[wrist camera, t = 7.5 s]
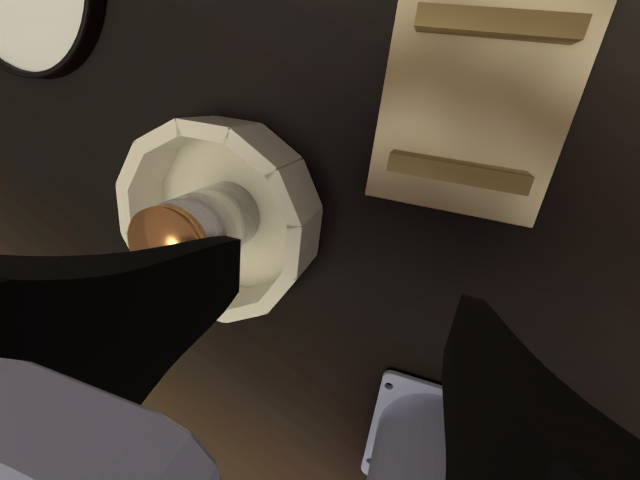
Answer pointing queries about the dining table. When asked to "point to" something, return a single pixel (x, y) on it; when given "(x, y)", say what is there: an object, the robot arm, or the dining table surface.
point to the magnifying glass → (48, 35)
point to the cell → (196, 217)
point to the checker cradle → (482, 102)
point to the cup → (246, 170)
